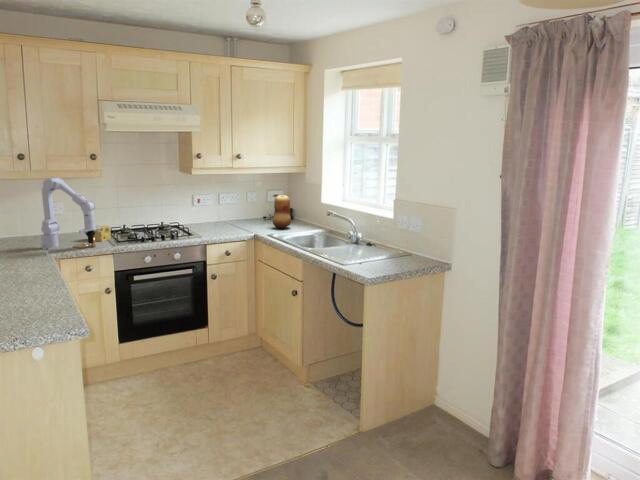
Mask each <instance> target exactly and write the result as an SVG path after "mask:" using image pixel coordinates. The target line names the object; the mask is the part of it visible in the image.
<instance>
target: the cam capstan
mask: <svg viewBox="0 0 640 480" xmlns="http://www.w3.org/2000/svg"><path fill="white" fill-rule="evenodd" d="M73 247H74V248H75V249H77V248H78V249H84V248H96V241H95V237H93V243H92V244H91V243H89V242H86V243H85V242H82V243H81V242H80V243H76V244H73Z"/></svg>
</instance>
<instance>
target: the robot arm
mask: <svg viewBox="0 0 640 480" xmlns="http://www.w3.org/2000/svg"><path fill="white" fill-rule="evenodd" d="M56 190H61V191H63V192H64V193H65V194H67V195H68V196H69V197H71V200H72V201H73V202H74V203H75V204H76V205H78V206H79V207H80V209H81V211H82V213H83V223H84V228H83V229H80V230H79V229H78V231H79V232H78V234H81V235H82V234H85V236H86V237H87V243H89V244H90V245H91V244H92V243H93V237H94V235H95V232H94V231H96V230H101V228H100V227H95V226H96V224H95V213H94V210H95V208H96V204H95V203H94V202H93V200H89V199H88V198H87V199H86V197H84V196H83V193H76V192H75V191H74V189H72V188H71V187H70V186H69V185H67V183H66V182H65V180H64V179H62V178H61V177H58V176H56V177H51V178H46V179H45V180H44V181H42V187H41V198H42V207H43V216H44V219H43V221H41V228H40V229H41V232H42V234H41V235H40V236H41V247H42V251H43V250H49V248H56V247H59V246H60V245H59V235H58V233H59V231H60V225H59V222H58V220H57V219H56V217H55V209H54V201H53V193H54V191H56Z"/></svg>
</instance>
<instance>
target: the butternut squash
mask: <svg viewBox="0 0 640 480" xmlns="http://www.w3.org/2000/svg"><path fill="white" fill-rule="evenodd" d="M290 203H291V199H290V197H288V195H285V194H284V195H281V194H280V195H277V196H276V197H275V199H274V203H273V204H274V207H273V208H274V214H273V217H272V224H273V226H274V227H275V228H276V229H277V228H278V229H286V228H287V227H290V225H291V223H292V217H291V215H290V213H291V212H290V210H291V204H290Z"/></svg>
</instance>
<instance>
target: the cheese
mask: <svg viewBox="0 0 640 480" xmlns="http://www.w3.org/2000/svg"><path fill="white" fill-rule="evenodd" d="M95 227H100V228H101V230H96V231H94V232H95V235H94V237H95V242H99V243H100V242H101V243H103V242H104V241H108V240H110V239H111V237H112V236H111V235H112V234H111V233H112V232H111V226H110V225H98V224H97V225H96V224H95Z"/></svg>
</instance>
